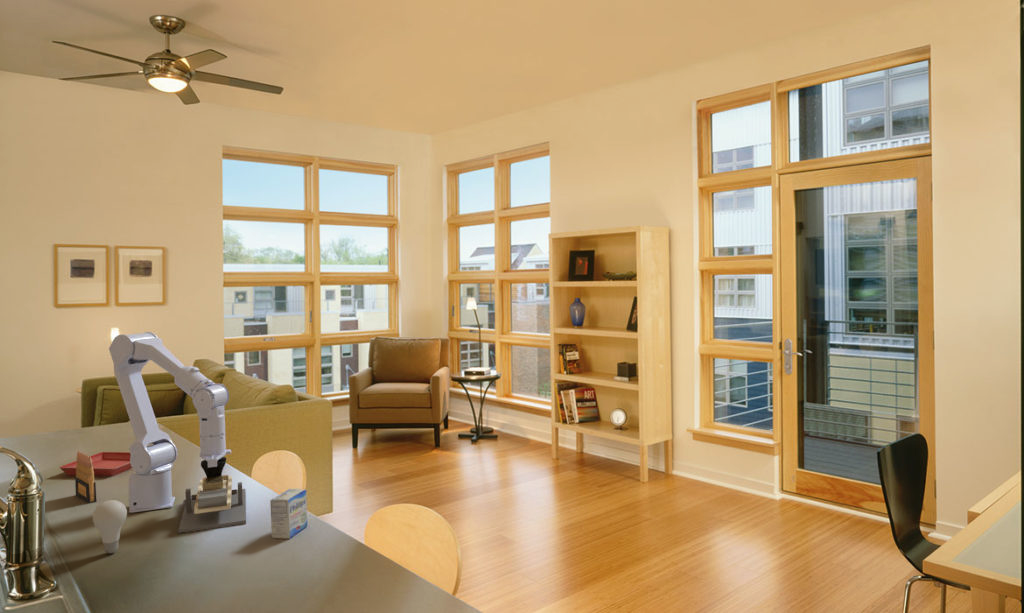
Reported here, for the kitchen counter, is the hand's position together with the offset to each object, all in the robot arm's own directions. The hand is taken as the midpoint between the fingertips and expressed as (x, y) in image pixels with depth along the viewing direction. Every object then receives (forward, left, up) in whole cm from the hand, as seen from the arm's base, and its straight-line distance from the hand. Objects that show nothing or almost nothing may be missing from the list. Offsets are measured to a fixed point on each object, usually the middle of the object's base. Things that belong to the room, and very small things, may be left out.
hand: (214, 488), depth 160 cm
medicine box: (+16, -24, -6) cm, 29 cm away
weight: (0, -3, -1) cm, 3 cm away
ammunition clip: (-32, +25, -6) cm, 41 cm away
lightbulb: (-19, -20, -5) cm, 28 cm away
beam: (0, -1, -1) cm, 1 cm away
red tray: (-32, +56, -6) cm, 65 cm away
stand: (0, -1, -5) cm, 5 cm away
